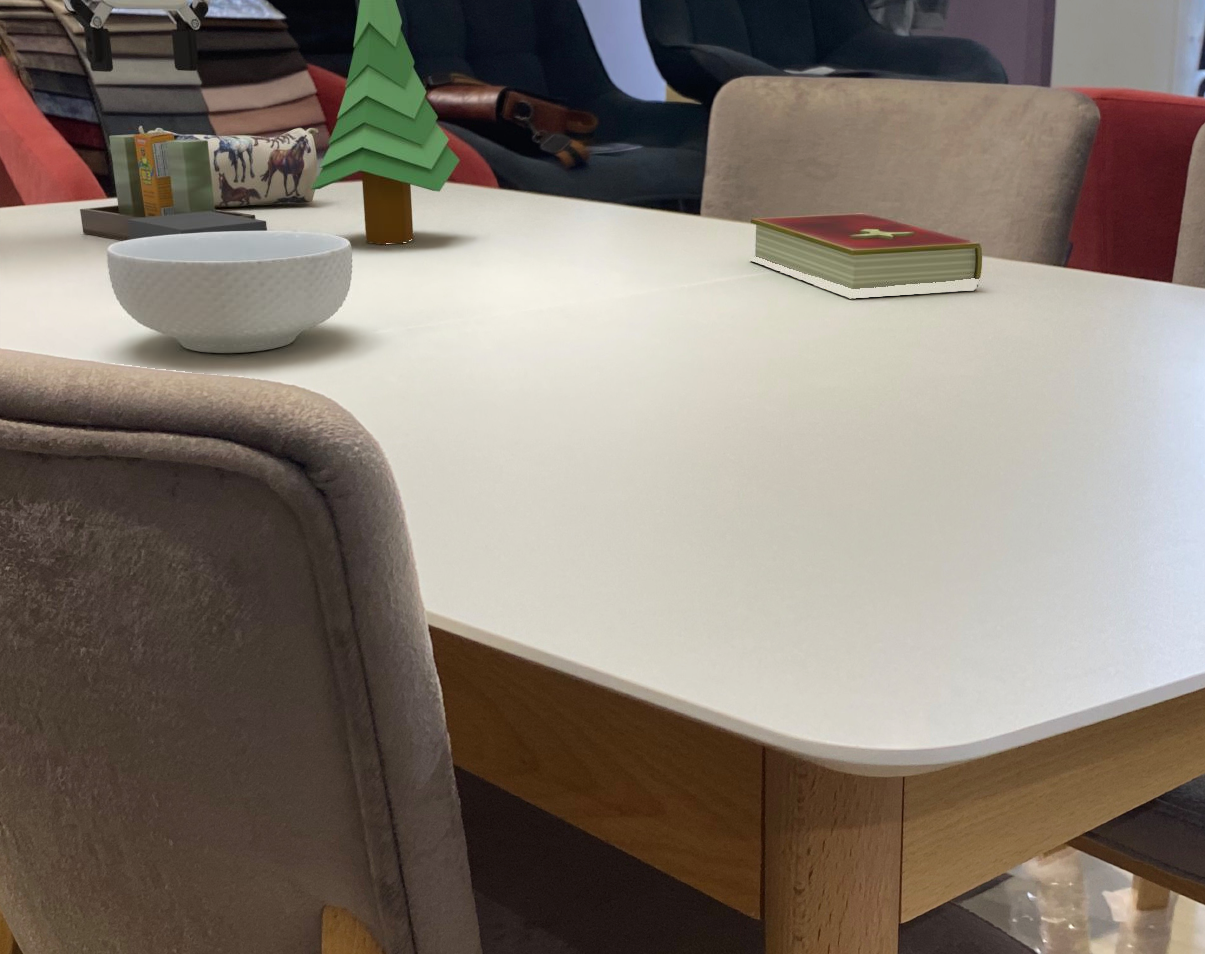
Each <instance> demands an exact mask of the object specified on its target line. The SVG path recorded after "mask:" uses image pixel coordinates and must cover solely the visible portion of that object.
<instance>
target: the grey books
mask: <svg viewBox="0 0 1205 954" xmlns="http://www.w3.org/2000/svg"><path fill="white" fill-rule="evenodd" d="M127 224H128V232H129V239H130V240H131V239H138V238H145V237H154V236H163V235H175V234H189V233H204V232H229V231H268V225H267V220H264V219H257V218H255V219H252V218H246V217H240V216H235V215H229V214H223V213H217V212H212V211H204V212H194V213H183V214H173V215H163V216H153V217H143V218H133V219H127Z"/></svg>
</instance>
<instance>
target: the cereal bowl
mask: <svg viewBox="0 0 1205 954" xmlns="http://www.w3.org/2000/svg"><path fill="white" fill-rule="evenodd" d="M106 258H107V259H106V261H107V268H108V275H109V280H110V284H111V288H112V290H113V293H114V296H115V298H116V300H117V301H118V303H119V305H120V307H122V309H123V310H124V311H125V312H126V313H127V315H129V316H130V317H131V318H132V319H133V320H135V321H136V322H137V323H138V324H140V325H142V326H144V327H146V328H147V329H150V330H153V331H155V332H158V333H160V334H163V335H165V336H168V337H170V338H173V339H175V340H177V341H178V342H179V344H180V345H181V347H183V348H184V349H187V350H189V351H195V352H199V353H200V352H201V353H210V354H211V353H212V354H242V353H243V354H244V353H252V352H253V353H254V352H261V351H268V350H274V349H279V348H281V347H285V346H287V345H290V344H292V343H293V342H294V341H295V340H296V338H297V336H298V335H299V334H300V333H302V332H305V331H307V330H309V329H311V328H313V327H316V326H318V325H320V324H322V323H324V322H325V321H328V320H329V319H331V317H333V316H334V315H335V314H336V313H337V312H339V309H340V308H341V307H342V306H343V304H344V302H346V300H347V299H346V298H347V297H348V293H349V291H350V287H351V281H352V274H353V248H352V245H351V242H350V241H349V239H347V238H345V237H342V236H339V235H333V234H328V233H321V232H309V231H297V230H296V231H294V230H293V231H292V230H267V231H229V232H204V233H189V234H175V235H163V236H154V237H145V238H138V239H131V240H126V241H124V240H121V241H117V242H115V243H112V244H110V245H109V246H108V247H107V249H106Z"/></svg>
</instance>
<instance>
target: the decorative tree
mask: <svg viewBox="0 0 1205 954" xmlns="http://www.w3.org/2000/svg"><path fill="white" fill-rule="evenodd" d="M358 4H359V5H358V10H357V19H356V25H355V33H354V39H353V46H352V47H353V48H354V49H353V53H352V58H351V63H350V67H349V70H348V75H347V78H346V83H345V92H344V94H343V98H342V101H341V104H340V107H339V110H338V113H337V116H336V119H337V120H336V124H335V126H334V128H333V130H332V133H331V136H330V138H329V140H328V143H327V144H328V145H329V146H328V149H327V151H326V153H325V155H324V156H323V159H322V160H321V163H320V165H319V167H318V168H319V169H321V170H320V172H319V174H317V179H316V180H315V182H314V184H313V186H312V187H311V189H315V190H322V188H325V187H327V186H330V185H332V184H334V183H336V182H338V181H340V180H342V179H345V178H347V177H350V176H352V175H354V174H356V173H358V172H361V185H362V198H363V210H364V211H363V212H364V228H365V243H366V242H372V243H371V244H374V243H380V244H379V245H381V244H386V243H403V242H408V241H409V240H411V239H413V240H414V224H413V207H412V206H413V205H412V189H411V188H412V187H411V186H415V187H418V188H422V189H426V190H429V191H432V192H441V191H442V189H443V188H444V185H446V183H447V181H448V179H449V178H450V177H451V175H452V173H453V171H454V170H455V169H456V167H457V165H458V164H459V162H460V161H461V159H460V158H459V157H458V156H457V155H456V154H455V153H454V151H453V150H451V148H450V147H449V146H448V145H447V144H448V142H449V140H450V138H448V136H447V135H446V134H445V132H444V131H443V130H442V129H441V127H440V125H438V123H437V119H438V118H439V116H438V114H437V113H436V112H435V110H434V109H433V107H432V106H431V104H430V102H429V101H428V99H427V98H426V94H427V90H426V89H425V87H424V85H423V83H422V81H421V79H420V77H419V76H418V74H417V71H416V70H415V67H414V65H415V59H414V58H413V55H412V53H411V50H410V48H409V46H408V44H407V41H406V39H405V37H404V34H403V32H402V28H401V27H402V24H403V21H402V17H401V14H400V10H399V8H398V4H397V1H396V0H359V3H358ZM311 189H310V190H311ZM408 243H409V242H408ZM386 245H387V244H386Z"/></svg>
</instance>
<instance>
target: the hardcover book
mask: <svg viewBox="0 0 1205 954" xmlns="http://www.w3.org/2000/svg"><path fill="white" fill-rule="evenodd" d="M750 224H753V225H755V246H754V247H755V251H754V252H755V253H754V257H755V256H756V257H759V258H762V259H765V260H767V261H770V262H772V263H775V264H779V265H782V266H784V267H787V268H789V269H793V270H796V271H799V272H802V273H804V274H808V275H811V276H815V277H819V278H822V279H824V280H827V281H830V282H833V283H836V284H840V285H843V286H845V287H848V288H851V289H860V288H874V287H875V288H876V287H886V286H887V287H888V286H895V285H906V284H918V283H919V284H920V283H933V282H935V283H936V282H946V281H955V280H963V279H971V278H975V279H979V278H980V279H981V276H982V269H983V250H982V246H981V243H979V242H975V241H971V240H968V239H965V238H961V237H957V236H953V235H950V234H945V233H941V232H938V231H934V230H930V229H926V228H922V227H918V226H914V225H910V224H907V223H902V222H898V221H896V220H891V219H889V218H888V219H887V218H885V217H880V216H876V215H872V214H869V213H864V212H858V213H857V212H856V213H838V214H837V213H835V214H816V215H815V214H814V215H796V216H794V215H793V216H775V217H756V218H753V217H752V218H750Z"/></svg>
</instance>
